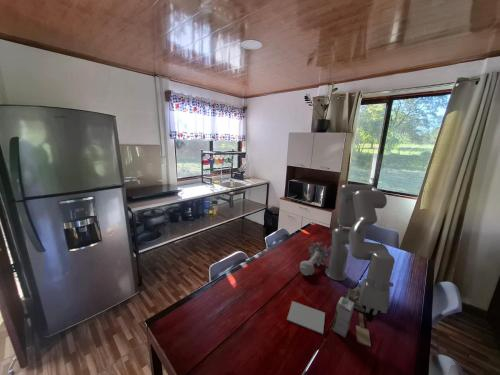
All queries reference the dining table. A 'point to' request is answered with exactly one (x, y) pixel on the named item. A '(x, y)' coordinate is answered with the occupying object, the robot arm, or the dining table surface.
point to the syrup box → (343, 316)
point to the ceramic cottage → (355, 298)
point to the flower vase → (313, 259)
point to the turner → (362, 332)
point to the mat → (306, 317)
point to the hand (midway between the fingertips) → (368, 319)
